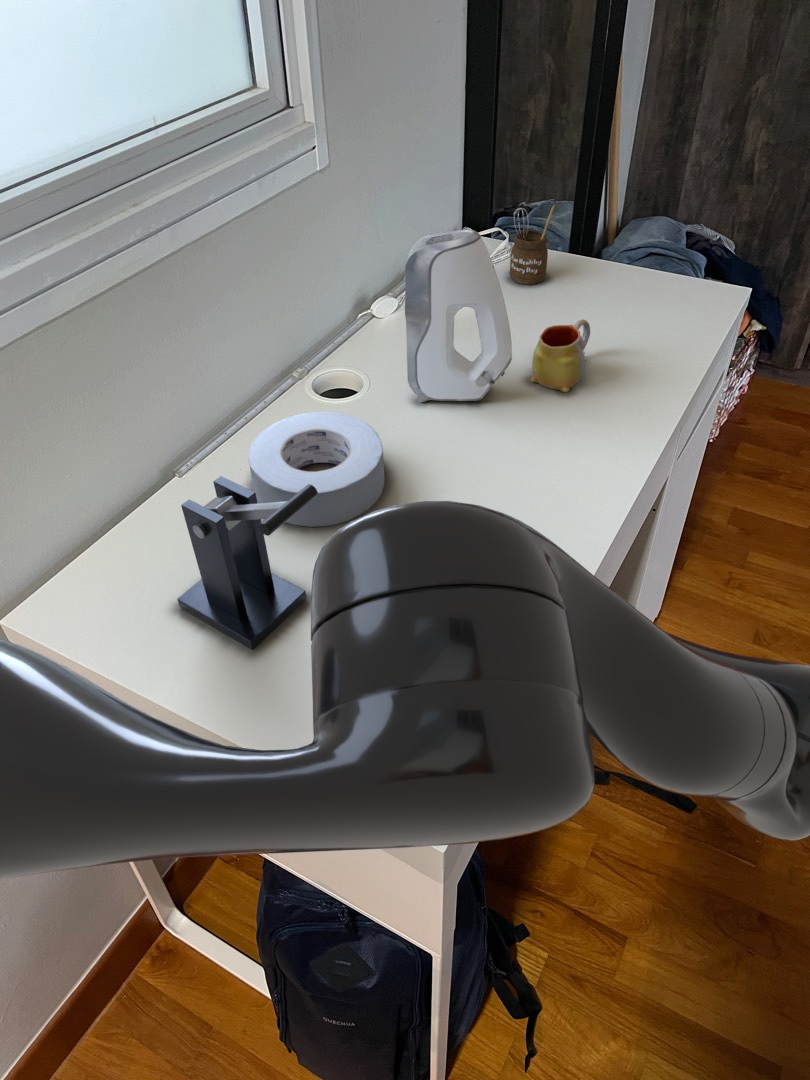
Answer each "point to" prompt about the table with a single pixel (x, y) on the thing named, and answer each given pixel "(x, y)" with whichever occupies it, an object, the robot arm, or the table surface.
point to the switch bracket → (235, 573)
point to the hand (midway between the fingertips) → (360, 544)
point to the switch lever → (261, 510)
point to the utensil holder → (529, 255)
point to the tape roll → (314, 442)
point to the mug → (560, 356)
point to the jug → (430, 306)
